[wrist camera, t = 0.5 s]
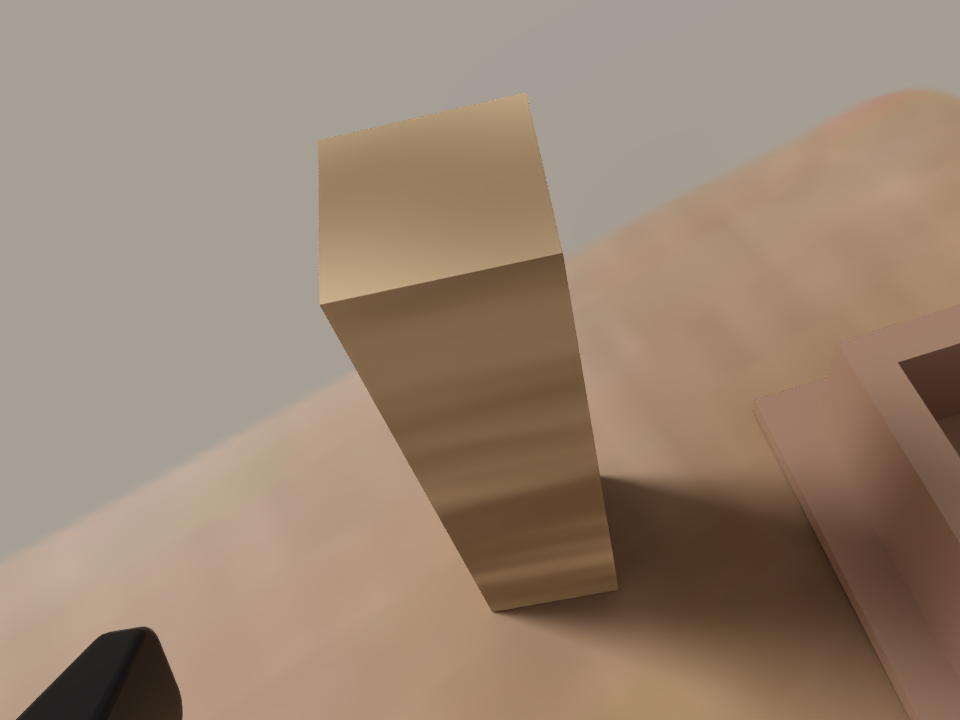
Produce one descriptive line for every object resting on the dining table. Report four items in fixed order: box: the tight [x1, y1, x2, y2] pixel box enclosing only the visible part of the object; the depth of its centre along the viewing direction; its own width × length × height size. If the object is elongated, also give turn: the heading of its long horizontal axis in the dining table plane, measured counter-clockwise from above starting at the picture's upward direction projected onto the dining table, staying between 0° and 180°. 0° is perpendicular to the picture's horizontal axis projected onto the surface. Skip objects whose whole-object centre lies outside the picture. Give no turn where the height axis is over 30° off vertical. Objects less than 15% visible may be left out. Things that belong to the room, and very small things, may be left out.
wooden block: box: [318, 93, 619, 612], centre depth 19 cm, size 4×4×14 cm
